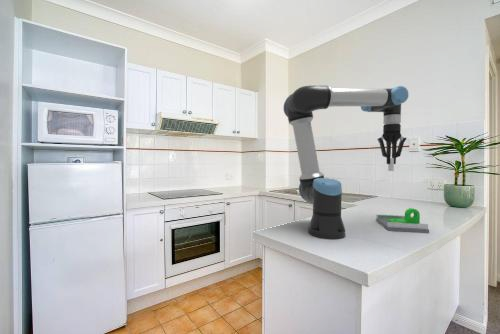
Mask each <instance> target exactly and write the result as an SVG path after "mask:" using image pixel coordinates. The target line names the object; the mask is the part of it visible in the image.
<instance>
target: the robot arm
mask: <svg viewBox="0 0 500 334" xmlns="http://www.w3.org/2000/svg"><path fill="white" fill-rule="evenodd" d="M408 99H409V91H408V89H407V87H405V86H403V85H398V86H394V87H393V88H358V87H357V88H347V87H345V88H343V87H342V88H341V87H339V88H338V87H337V88H336V87H332V88H331V86H329V85H305V86H304V85H303V86H300V87H299V88H297V89H295V90H294V91H293V92H292V94H290V95H288V97H287V98H286V99H285V101H284V103H283V107H282V108H283V113H284V115H285V116H286V117H287V120H288V124H289V125H291V126H292V129H293V130H292V131H293V134H294V138H295V139H294V140H295V145H296V150H297V151H296V152H297V156H298V161H299V166H300V173H301V175H300V177H299V178H298V179H299V185H298V192H299V196H300V198H302V200H303V201H305V202H307V203H309V204H312V215H311V219H310V222H309V224H308V233H309V234H310V235H311V236H312V237H313V236H314V237H316V238H320V239H329V240H330V239H331V240H333V239H334V240H335V239H342V238H344V237H346V228H345V224H344V222H343V217H342V195H343V187H342V183H341V182H340V180H337V179H335V178H329V177H325V174H324V173H323V172H321V171H320V167H319V161H318V155H317V150H316V145H315V139H314V134H313V128H312V127H313V126H312V120H313V119H314V114H313V112H314V111H317V110H327V109H329V107H330V108H331V107H360V110H361V111H362V112H367V113H383V122H382V123H383V129H382V131H383V132H382V133H383V134H382V135H381V136H380V137H378V138H377V142H378V144H379V147H380V152H381V155H382V157H383V158H386V165H388V169H387V170H388V171H387V172H394V169H395V167H394V166H395V165H396V163H397V158H399V157H401V154H402V151H403V148H404V143H405V142H406V140H407V137H404V136H402V134H401V133H402V132H401V128H402V126H401V122H402V121H401V119H402V118H401V117H402V104H404V103H405V102H406V101H407V100H408ZM384 141H385V142H384ZM398 141H399V144H398ZM397 144H398V146H397ZM385 145H386V147H385Z"/></svg>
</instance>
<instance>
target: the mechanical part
mask: <svg viewBox="0 0 500 334" xmlns="http://www.w3.org/2000/svg"><path fill="white" fill-rule="evenodd" d="M412 214H413V216H412ZM404 216H405V219H388V222H398V223H418V224H421V223H420V222H421V217H420V216H421V214H420V211H419V210H417V209H415V208H412V207H411V208H410V207H409V208H407V209H406V210H405V212H404ZM411 216H412V217H411Z"/></svg>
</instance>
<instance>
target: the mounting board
mask: <svg viewBox="0 0 500 334" xmlns="http://www.w3.org/2000/svg"><path fill="white" fill-rule="evenodd" d="M375 221H376V222H377V224H379V225H380V226H381V227H383V228H384V229H386V230H387V231H389V232H401V233H403V232H406V233H421V234H423V233H424V234H430V229H429V228H428V229H415V228H397V227H388V226H387V222H388V219H377V218H375Z"/></svg>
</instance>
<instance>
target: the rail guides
mask: <svg viewBox="0 0 500 334" xmlns="http://www.w3.org/2000/svg"><path fill="white" fill-rule="evenodd" d="M411 217H413V216H412V215H411ZM376 218H377V219H405V215H394V214H376ZM376 218H375V219H376ZM387 226H388V227H397V228H415V229H429V224H428V223H420V224H418V223H398V222H387Z"/></svg>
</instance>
